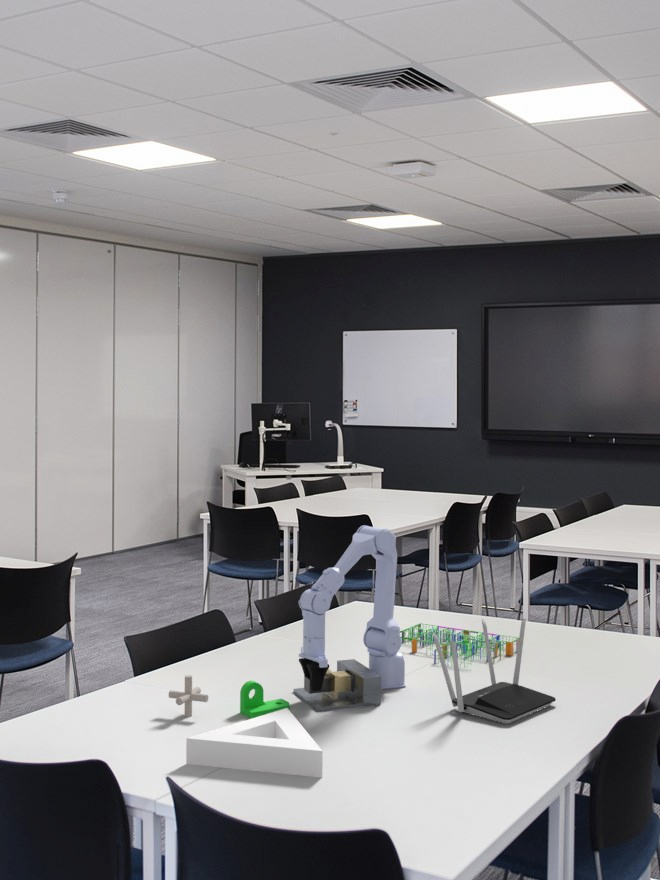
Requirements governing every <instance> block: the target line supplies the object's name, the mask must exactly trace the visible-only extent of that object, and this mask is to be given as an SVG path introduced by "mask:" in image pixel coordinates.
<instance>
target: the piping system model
mask: <svg viewBox="0 0 660 880" xmlns="http://www.w3.org/2000/svg"><path fill="white" fill-rule="evenodd" d="M424 625H425V626H430V624H427V623H424V624H423V623H421V622H420V623H417V624H415V625H413V626H410V627H408V628H405V629H402V630H400V633H401V636H400V637H401V645H402V644H404V645H406V643H407V644H408V645H409V644H410V643H411V652H412V653H416V654H417V653H418V654H423V655H424V654H426V655H428V649H429V650H432V648H433V645H436V644H435V641H434V637H433V634H432V633H433V632H434V633H435V634H436V635H437V636H438V639H439V643H440V646H441V649H442V653H443V656H444V659H445V663H447V659H448V654H449V657H452V647H451V640H453V641H454V642H455V643H456V650H457V658H459V659H458V660H459V661H461V664H463V668H464V669H465V667H467V665H466V662H465V661H466V659H470V660H472V659H473V660H474V659H475V658H476V655H478V656H477V657H478V659H477V660H479V661H481V658H482V660H484V657H483V656H485V662H488V657H487V651H486V650H485V649H486V644H485V638H484V632H482V631H477V630H468V629H462V628H455V627H447V626H443V625H441V626H440V625H434V624H431V628H425V629H424V627H425V626H424ZM414 630H417V632H415V631H414ZM457 631H458V632H457ZM406 633H408V634H406ZM471 633H473V634H476V635H471ZM501 637H503V638H505V640H506V641H505V640H502V638H501ZM488 638H489V644H490V649H491V652H492V650H493V655H492V661H493V663H495V658H496V657H497V656H498V655H499V659H500V660H501V659H502V654H503V655H504V654H505V655H506V656H513V655H514V654H517V649H518V642H519V636H518V637H516V636H513V640H512V641H511V639H510V638H512V636H511V635H504V634H495V633H489V632H488ZM508 638H509V639H508ZM514 638H515V639H514ZM418 642H419V643H418ZM514 645H515V647H514ZM418 646H419V647H421V648H424V647H426V650H425V651H426V653H424V652H418ZM427 646H429V648H428V647H427ZM449 646H450V647H449ZM504 646H505V647H504ZM448 647H449V651H448ZM482 647H483V648H482ZM514 648H515V652H514ZM478 650H479V651H478ZM504 650H505V653H504ZM458 651H459V652H458ZM482 651H485V653H482ZM433 652H434V653H431V656H433V657H434V658H433V663H434V664H436V663H437V664H438V665H439V663H440V658H439V655H438V654H437V648H434V651H433ZM461 656H463V659H464V660H463V661H462V658H461ZM449 662H453V659H449ZM469 664H470V665H472V662H469Z"/></svg>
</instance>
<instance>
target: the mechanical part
mask: <svg viewBox="0 0 660 880" xmlns="http://www.w3.org/2000/svg"><path fill="white" fill-rule="evenodd" d="M253 690H254V694H253V695H252V697H250V693H251V691H253ZM239 695H240V696H239V697H240V699H239V712H240V713H241V714H242V715H243V716H246V718H249V719H252V718H255V717H259V716H262V715H265V714H269V713H272V712H275V711H279V710H282V709H285V708H288V709H289V710H290V702H289V701H288V700H285V699H283V698H278V699H272V700H271V699H270V700H267V701H264V688H263V686H262V685H261V684H260V683H259V682H257V681H255V680H249V681H246V682H245V683H244V684H243V685H242V687H241V688H240V693H239Z"/></svg>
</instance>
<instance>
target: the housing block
mask: <svg viewBox="0 0 660 880" xmlns="http://www.w3.org/2000/svg"><path fill="white" fill-rule="evenodd" d="M336 662H337V663H336V671H345V672H347V673H348V674H350V675H351V691H345V692H338V699H334V698H333V697H332V696H330V695H329V694H328V693H326V692H322V693H313V694H309V693H308V692H306V691H305V690H304V687H298V688H293V693H294V694H295V695H296V696H298V698H300V699H301V700H303V702H305V703H306V704H307V705H308V706H310V707H311V708H312V709H313V710H314V711H316V712H318V713H321V712H329V711H336V710H337V711H338V710H346V709H355V708H362V707H363V708H365V707H373V705H374V706H380V705H379V704H381V705H382V689H381V676H380V675H378V674H377V673H375V672H374V671H372V670H370V669H369V667H367V666H366V665H364V664H362V663H361V662H359V661H358V660H356V659H355V658H352V659H343V660H336ZM364 706H365V707H364Z"/></svg>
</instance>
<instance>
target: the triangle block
mask: <svg viewBox="0 0 660 880" xmlns="http://www.w3.org/2000/svg"><path fill="white" fill-rule="evenodd" d="M185 740H186V743H185V744H186V747H185V748H186V750H185V751H186V753H185V754H186V756H185V757H186V761H185V764H186V765H193V766H203V767H204V766H205V767H210V768H211V767H213V768H223V769H230V770H231V769H233V770H243V771H253V772H262V773H263V772H264V773H271V774H274V773H275V774H280V775H282V774H283V775H290V776H291V775H292V776H303V777H312V778H323V759H324V758H323V750H322V748H321V747H320V746H319V745H318V743H316V741H315V740H314V739H313V737H312V736H311V734H310V733H308V731H307V729H305V728H304V727H303V725H302V724H301V723H300V721H299V720H298V719H297V718H296V717H295V716H294V714H293V713H292V712H291V711H290V708H289V709H288V708H285V709H282V710H279V711H275V712H272V713H269V714H265V715H262V716H259V717H255V718H252V719H251V718H249V719H246V720H243V721H239V722H236V723H233V724H229V725H226V726H222V727H220V728H216V729H213V730H209V731H206V732H203V733H199V734H196V735H192V736H189V737H187V738H186V739H185Z"/></svg>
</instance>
